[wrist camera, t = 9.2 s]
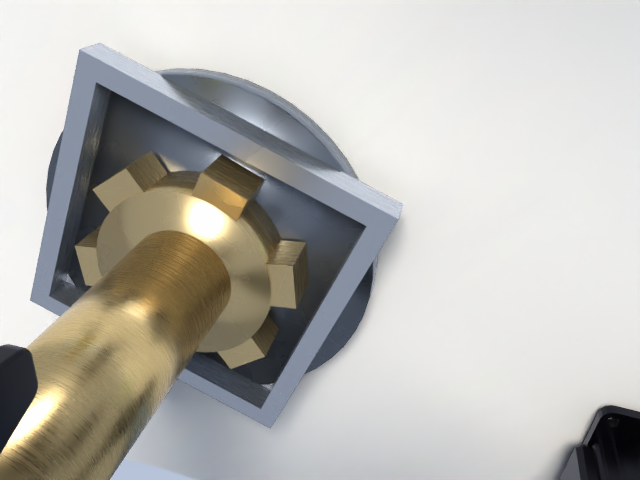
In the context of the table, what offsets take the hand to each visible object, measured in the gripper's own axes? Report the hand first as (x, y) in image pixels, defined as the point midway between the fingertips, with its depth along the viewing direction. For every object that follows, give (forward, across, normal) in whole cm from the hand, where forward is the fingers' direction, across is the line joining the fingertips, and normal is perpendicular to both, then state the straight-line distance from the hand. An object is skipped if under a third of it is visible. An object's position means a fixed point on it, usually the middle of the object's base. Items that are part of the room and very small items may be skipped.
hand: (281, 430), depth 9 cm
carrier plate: (+13, +7, +5) cm, 16 cm away
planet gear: (+12, +7, +6) cm, 15 cm away
